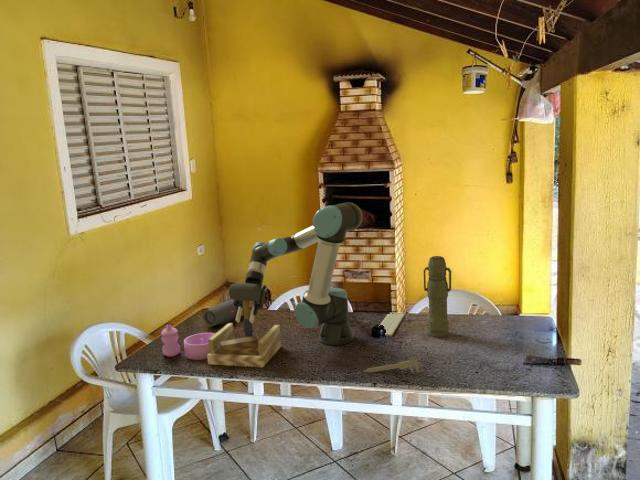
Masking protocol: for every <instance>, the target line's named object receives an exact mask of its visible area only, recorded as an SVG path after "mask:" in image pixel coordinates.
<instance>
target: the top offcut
mask: <svg viewBox="0 0 640 480" xmlns="http://www.w3.org/2000/svg"><path fill="white" fill-rule="evenodd" d="M260 339H261V338H260V336H259V335H258V334H256V335H253V336H251V337H245V336H244V337H240V338H234V339H233V340H227V341H221V342H220V349H221V351H222V353H224V352H230V351H235V350H241V349H247V348H252V347H258V341H259V340H260Z"/></svg>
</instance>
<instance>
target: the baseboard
mask: <svg viewBox="0 0 640 480" xmlns="http://www.w3.org/2000/svg"><path fill="white" fill-rule="evenodd" d="M388 312H389V313H390V314H387V313H388ZM392 313H393V314H392ZM405 315H406V311H403V312H401V311H400V310H398V309H395V312H393V311H390V310H388V311H387V312H386V316H385V317H384V318H383V320H382V321H381V322H380V324H379V326H380V325H383V326H384V327H385V329H386V333H385V336H384V337H393V335H394V334H395V332H396V331H397V329H398V327H399V325H400V324H401V322H402V320H403V319H404V317H405Z"/></svg>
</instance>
